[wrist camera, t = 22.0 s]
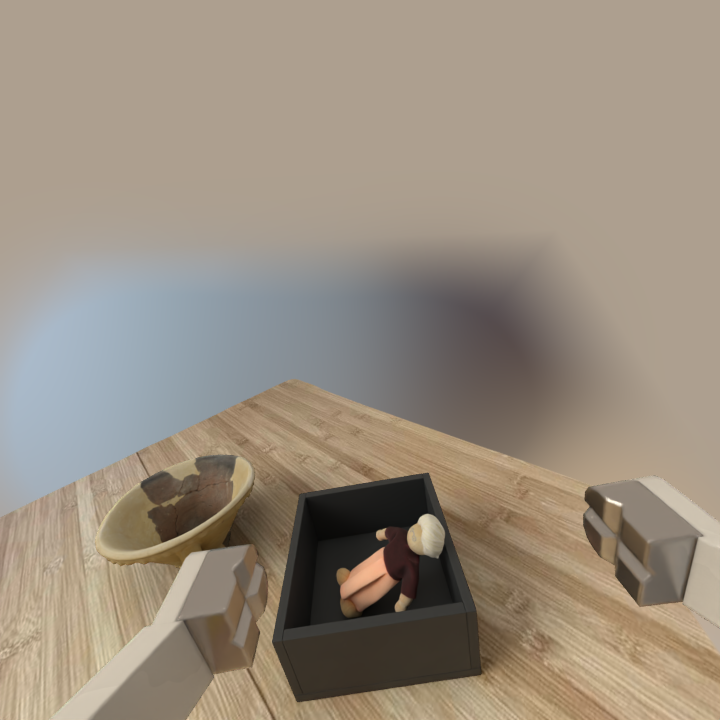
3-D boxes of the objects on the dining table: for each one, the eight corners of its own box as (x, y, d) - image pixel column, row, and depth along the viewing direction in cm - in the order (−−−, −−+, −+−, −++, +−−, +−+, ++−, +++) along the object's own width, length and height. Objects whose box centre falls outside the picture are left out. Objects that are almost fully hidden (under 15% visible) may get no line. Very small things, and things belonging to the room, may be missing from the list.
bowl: (285, 562, 40) (263, 502, 37) (115, 652, 34) (71, 588, 31) (260, 481, 56) (243, 433, 53) (140, 533, 49) (112, 482, 46)
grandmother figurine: (325, 558, 35) (408, 484, 31) (351, 559, 37) (431, 490, 33) (346, 649, 29) (452, 570, 25) (376, 644, 31) (476, 571, 28)
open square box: (434, 523, 42) (428, 472, 39) (481, 675, 27) (476, 610, 25) (314, 542, 42) (299, 493, 40) (296, 702, 28) (271, 642, 25)
